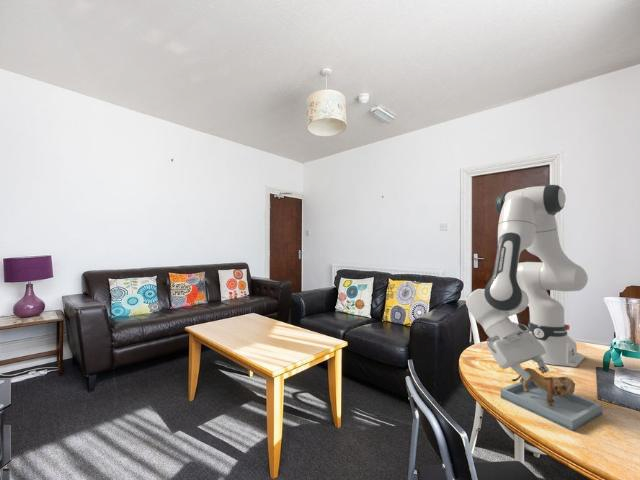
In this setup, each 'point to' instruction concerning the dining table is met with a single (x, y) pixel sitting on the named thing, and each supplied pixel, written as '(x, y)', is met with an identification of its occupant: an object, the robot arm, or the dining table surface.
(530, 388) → the grey tray
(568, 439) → the dining table surface
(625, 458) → the dining table surface
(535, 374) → the lion figurine
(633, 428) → the dining table surface
